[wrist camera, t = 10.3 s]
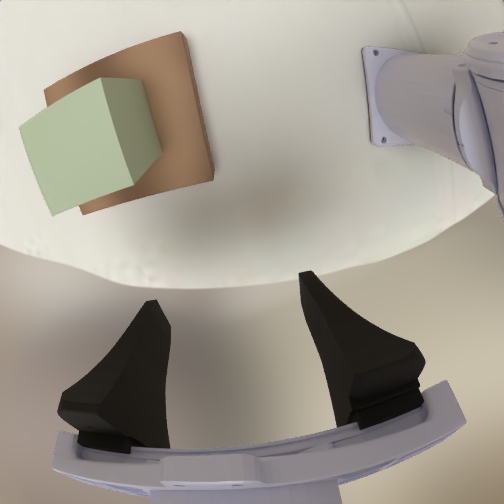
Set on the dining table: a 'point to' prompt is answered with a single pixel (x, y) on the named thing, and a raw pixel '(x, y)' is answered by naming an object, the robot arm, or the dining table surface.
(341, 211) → the dining table surface
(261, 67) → the dining table surface
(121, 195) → the walnut pad
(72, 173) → the sage block
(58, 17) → the dining table surface
